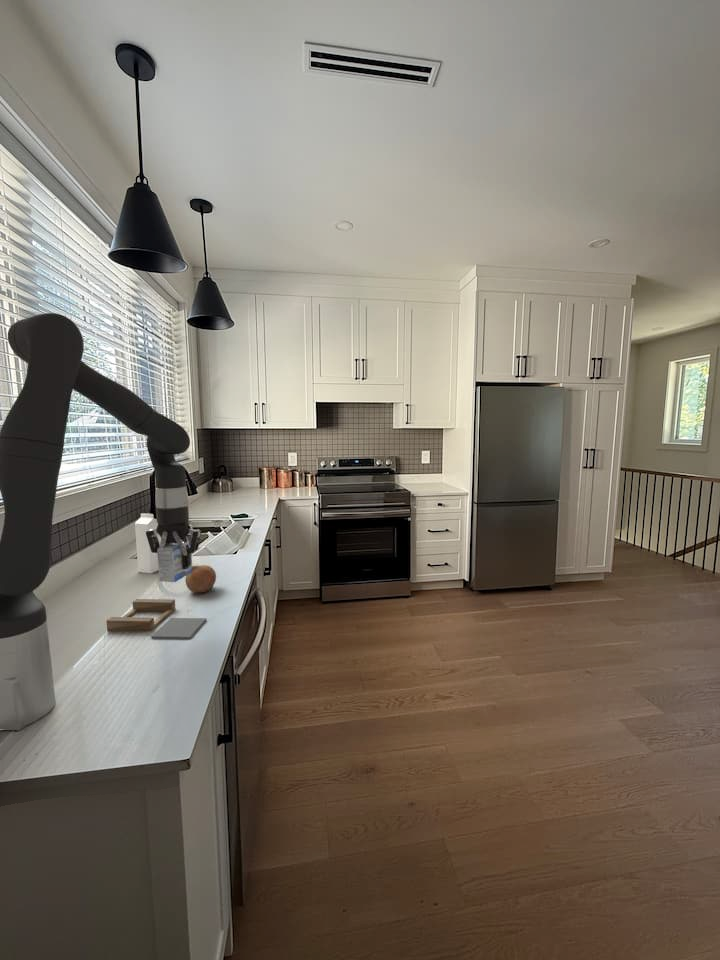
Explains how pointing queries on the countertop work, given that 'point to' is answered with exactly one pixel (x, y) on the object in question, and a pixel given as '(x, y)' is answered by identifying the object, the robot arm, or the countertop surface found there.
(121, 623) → the frame
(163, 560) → the medicine box
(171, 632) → the mat
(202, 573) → the onion
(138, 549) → the milk
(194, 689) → the countertop surface
